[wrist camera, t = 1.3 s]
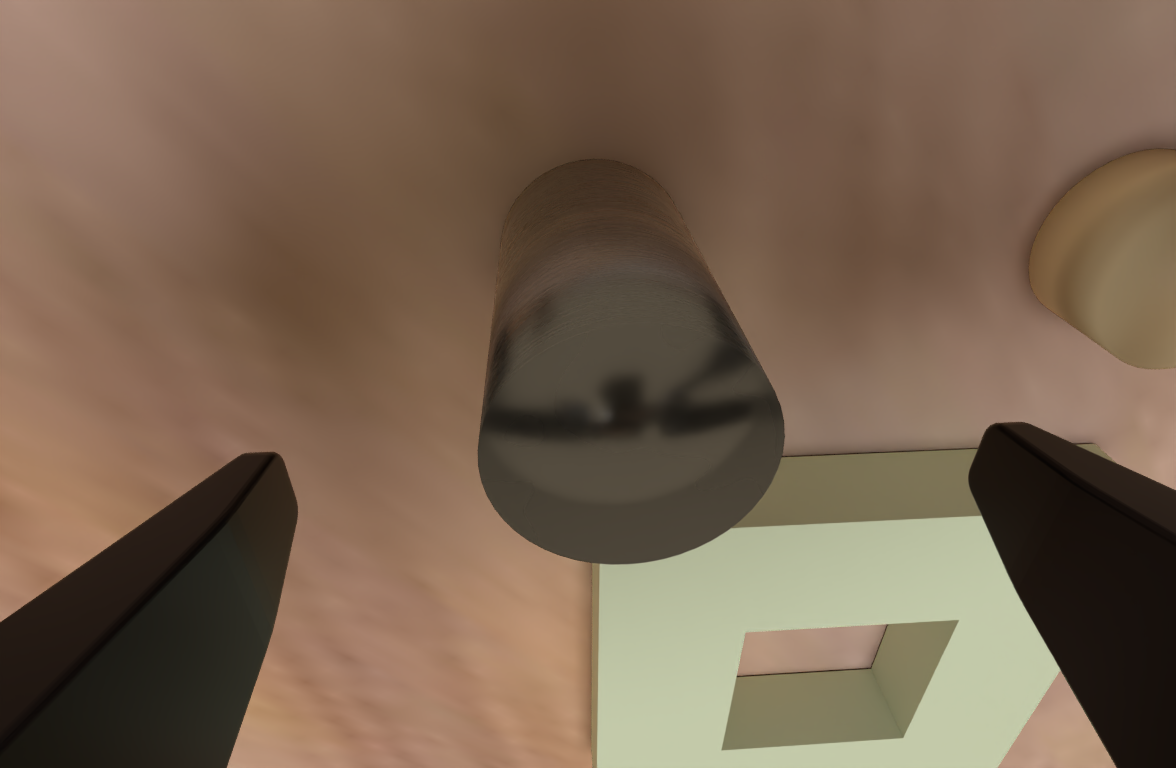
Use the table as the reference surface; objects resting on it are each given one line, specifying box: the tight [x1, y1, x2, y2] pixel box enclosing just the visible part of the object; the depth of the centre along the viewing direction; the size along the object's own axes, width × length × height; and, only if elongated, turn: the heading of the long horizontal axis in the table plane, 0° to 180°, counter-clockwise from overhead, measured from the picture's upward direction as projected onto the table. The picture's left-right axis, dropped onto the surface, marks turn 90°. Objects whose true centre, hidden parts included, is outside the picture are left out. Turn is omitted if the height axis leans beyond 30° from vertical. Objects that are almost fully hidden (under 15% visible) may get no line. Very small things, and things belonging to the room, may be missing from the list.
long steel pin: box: [478, 159, 785, 565], centre depth 12 cm, size 4×4×7 cm
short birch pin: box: [1029, 149, 1176, 369], centre depth 14 cm, size 4×4×2 cm
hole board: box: [591, 444, 1116, 768], centre depth 21 cm, size 14×14×2 cm
